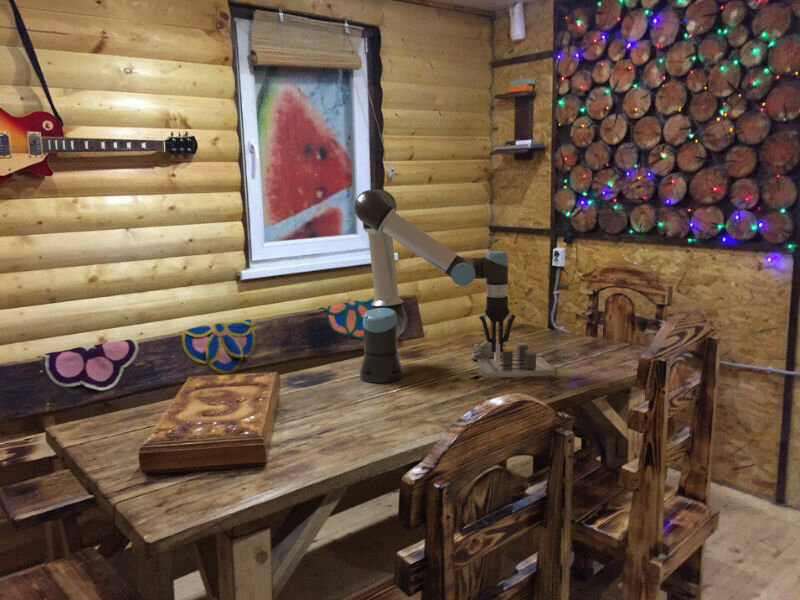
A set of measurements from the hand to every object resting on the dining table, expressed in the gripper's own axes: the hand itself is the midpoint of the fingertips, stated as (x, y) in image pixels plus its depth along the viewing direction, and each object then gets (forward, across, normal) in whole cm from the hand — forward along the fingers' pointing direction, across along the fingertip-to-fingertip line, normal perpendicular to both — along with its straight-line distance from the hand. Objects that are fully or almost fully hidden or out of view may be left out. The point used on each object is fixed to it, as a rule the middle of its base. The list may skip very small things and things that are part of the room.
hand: (497, 360), depth 232 cm
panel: (+4, +6, 0) cm, 7 cm away
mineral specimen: (+4, -1, +17) cm, 17 cm away
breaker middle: (+1, +4, 0) cm, 4 cm away
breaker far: (+1, +11, +6) cm, 12 cm away
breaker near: (+1, +11, -5) cm, 12 cm away
